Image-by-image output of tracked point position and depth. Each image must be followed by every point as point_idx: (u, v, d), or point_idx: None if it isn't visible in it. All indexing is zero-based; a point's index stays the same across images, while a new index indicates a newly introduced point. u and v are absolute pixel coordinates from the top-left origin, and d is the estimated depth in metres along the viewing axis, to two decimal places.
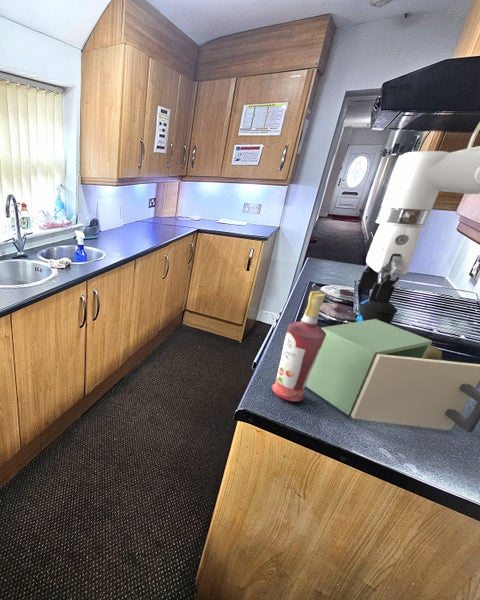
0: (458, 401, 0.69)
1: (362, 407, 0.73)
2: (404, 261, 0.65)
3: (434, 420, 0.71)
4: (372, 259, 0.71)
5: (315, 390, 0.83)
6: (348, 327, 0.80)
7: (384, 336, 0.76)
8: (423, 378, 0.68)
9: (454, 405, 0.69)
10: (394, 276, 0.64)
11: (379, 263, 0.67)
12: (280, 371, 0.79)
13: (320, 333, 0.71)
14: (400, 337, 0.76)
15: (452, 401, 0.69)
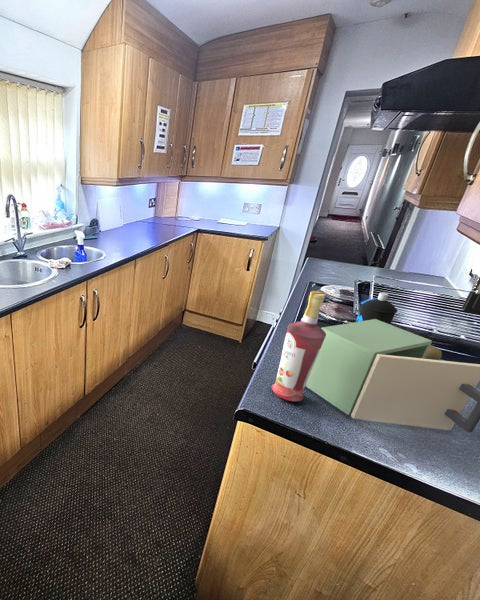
0: (458, 401, 0.69)
1: (362, 407, 0.73)
2: None
3: (434, 420, 0.71)
4: None
5: (315, 390, 0.83)
6: (348, 327, 0.80)
7: (384, 336, 0.76)
8: (423, 378, 0.68)
9: (454, 405, 0.69)
10: None
11: None
12: (280, 371, 0.79)
13: (320, 333, 0.71)
14: (400, 337, 0.76)
15: (452, 401, 0.69)
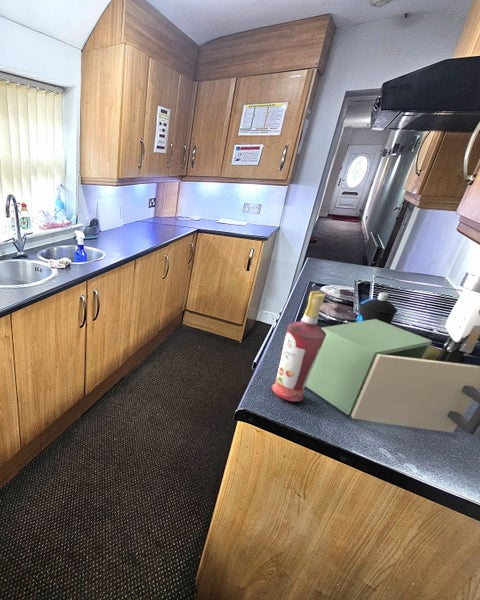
0: (461, 403, 0.68)
1: (362, 407, 0.73)
2: None
3: (436, 422, 0.71)
4: (451, 326, 0.66)
5: (315, 390, 0.83)
6: (348, 327, 0.80)
7: (384, 336, 0.76)
8: (424, 378, 0.68)
9: (456, 407, 0.69)
10: (462, 350, 0.64)
11: (458, 333, 0.63)
12: (280, 371, 0.79)
13: (320, 333, 0.71)
14: (400, 337, 0.76)
15: (454, 403, 0.68)
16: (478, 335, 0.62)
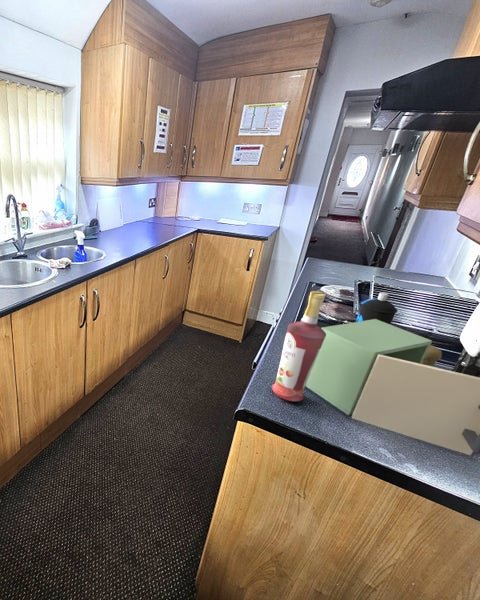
0: (478, 422, 0.63)
1: (362, 408, 0.73)
2: None
3: (449, 438, 0.66)
4: (467, 339, 0.63)
5: (315, 390, 0.83)
6: (348, 327, 0.80)
7: (384, 336, 0.76)
8: (431, 387, 0.65)
9: (473, 425, 0.64)
10: None
11: (475, 347, 0.59)
12: (280, 371, 0.79)
13: (320, 333, 0.71)
14: (400, 337, 0.76)
15: (470, 420, 0.64)
16: None
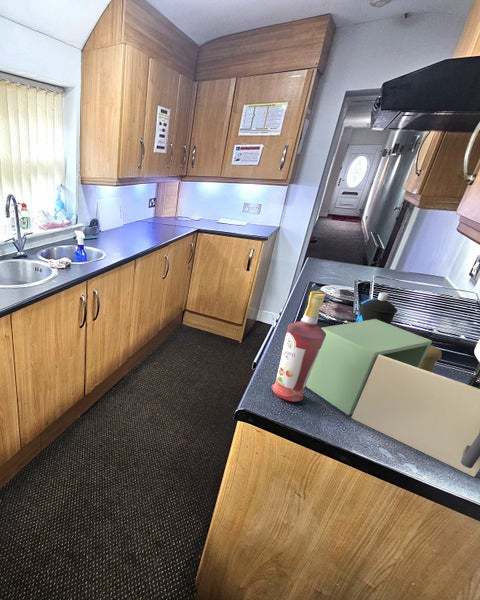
0: None
1: (360, 408, 0.73)
2: None
3: (450, 454, 0.63)
4: None
5: (315, 390, 0.83)
6: (348, 327, 0.80)
7: (384, 336, 0.76)
8: (431, 394, 0.63)
9: None
10: None
11: None
12: (280, 371, 0.79)
13: (320, 333, 0.71)
14: (400, 337, 0.76)
15: (473, 437, 0.60)
16: None
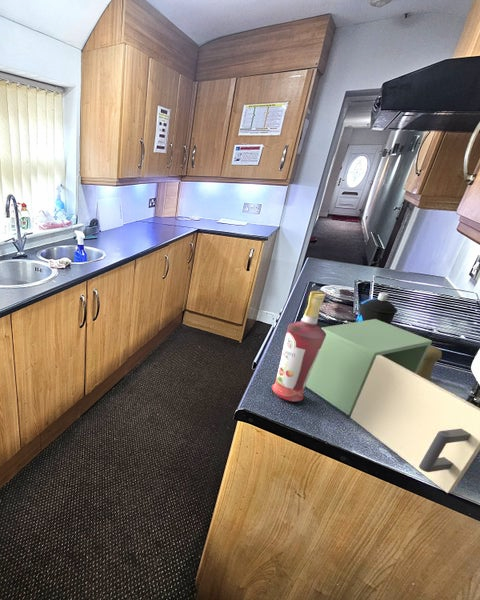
0: (457, 453, 0.56)
1: (358, 408, 0.73)
2: None
3: None
4: None
5: (315, 390, 0.83)
6: (348, 327, 0.80)
7: (384, 336, 0.76)
8: (417, 399, 0.62)
9: (452, 456, 0.57)
10: None
11: None
12: (280, 371, 0.79)
13: (320, 333, 0.71)
14: (400, 337, 0.76)
15: (450, 449, 0.57)
16: None
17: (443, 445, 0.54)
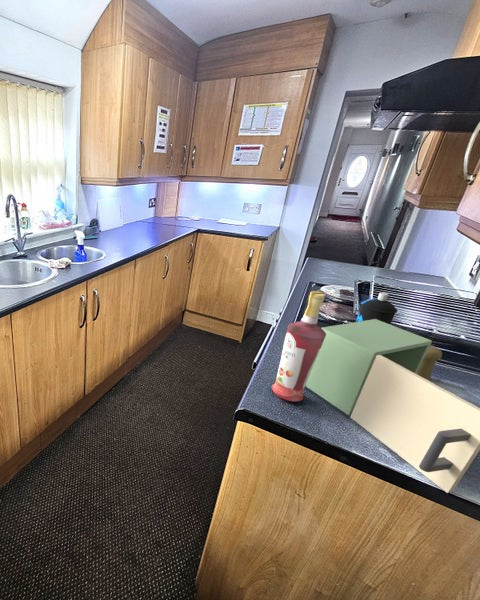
0: (457, 453, 0.56)
1: (358, 408, 0.73)
2: None
3: None
4: None
5: (315, 390, 0.83)
6: (348, 327, 0.80)
7: (384, 336, 0.76)
8: (417, 399, 0.62)
9: (452, 456, 0.57)
10: None
11: None
12: (280, 371, 0.79)
13: (320, 333, 0.71)
14: (400, 337, 0.76)
15: (450, 449, 0.57)
16: None
17: (443, 445, 0.54)
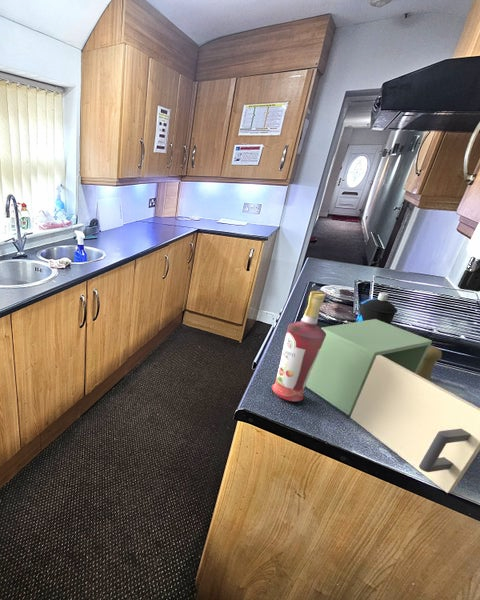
0: (457, 453, 0.56)
1: (358, 408, 0.73)
2: None
3: None
4: (473, 246, 0.69)
5: (315, 390, 0.83)
6: (348, 327, 0.80)
7: (384, 336, 0.76)
8: (417, 399, 0.62)
9: (452, 456, 0.57)
10: None
11: None
12: (280, 371, 0.79)
13: (320, 333, 0.71)
14: (400, 337, 0.76)
15: (450, 449, 0.57)
16: None
17: (443, 445, 0.54)
